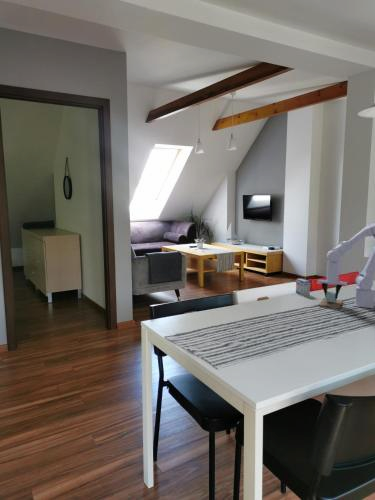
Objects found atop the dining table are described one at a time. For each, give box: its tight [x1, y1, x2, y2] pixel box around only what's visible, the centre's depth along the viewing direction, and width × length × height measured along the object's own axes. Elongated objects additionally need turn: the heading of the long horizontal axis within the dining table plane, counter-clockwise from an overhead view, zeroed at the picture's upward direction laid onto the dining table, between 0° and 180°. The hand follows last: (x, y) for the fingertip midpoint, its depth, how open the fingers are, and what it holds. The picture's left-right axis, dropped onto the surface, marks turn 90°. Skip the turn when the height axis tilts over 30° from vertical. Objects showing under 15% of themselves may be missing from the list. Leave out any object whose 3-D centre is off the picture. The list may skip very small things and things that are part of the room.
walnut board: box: [318, 298, 344, 310], centre depth 201 cm, size 10×14×1 cm
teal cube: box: [326, 291, 337, 303], centre depth 201 cm, size 4×4×4 cm
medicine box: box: [295, 278, 311, 297], centre depth 222 cm, size 8×4×9 cm, turn 17°
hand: (331, 298), depth 201 cm, fingers closed on teal cube, 4 cm apart
